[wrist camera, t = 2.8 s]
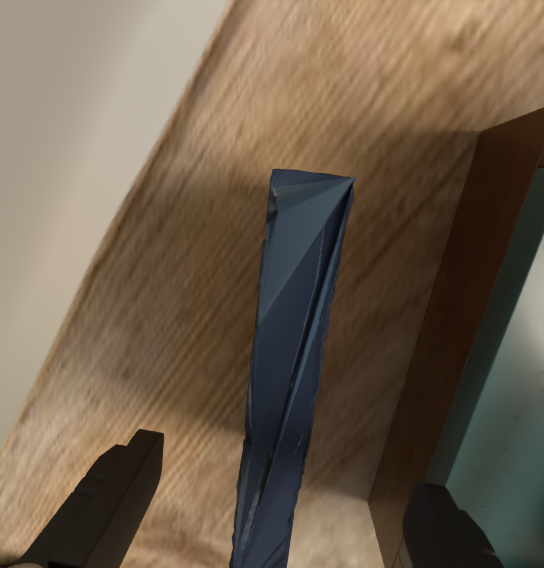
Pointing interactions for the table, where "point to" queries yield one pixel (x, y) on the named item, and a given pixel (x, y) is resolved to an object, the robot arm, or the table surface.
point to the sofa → (480, 362)
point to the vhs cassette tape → (287, 356)
